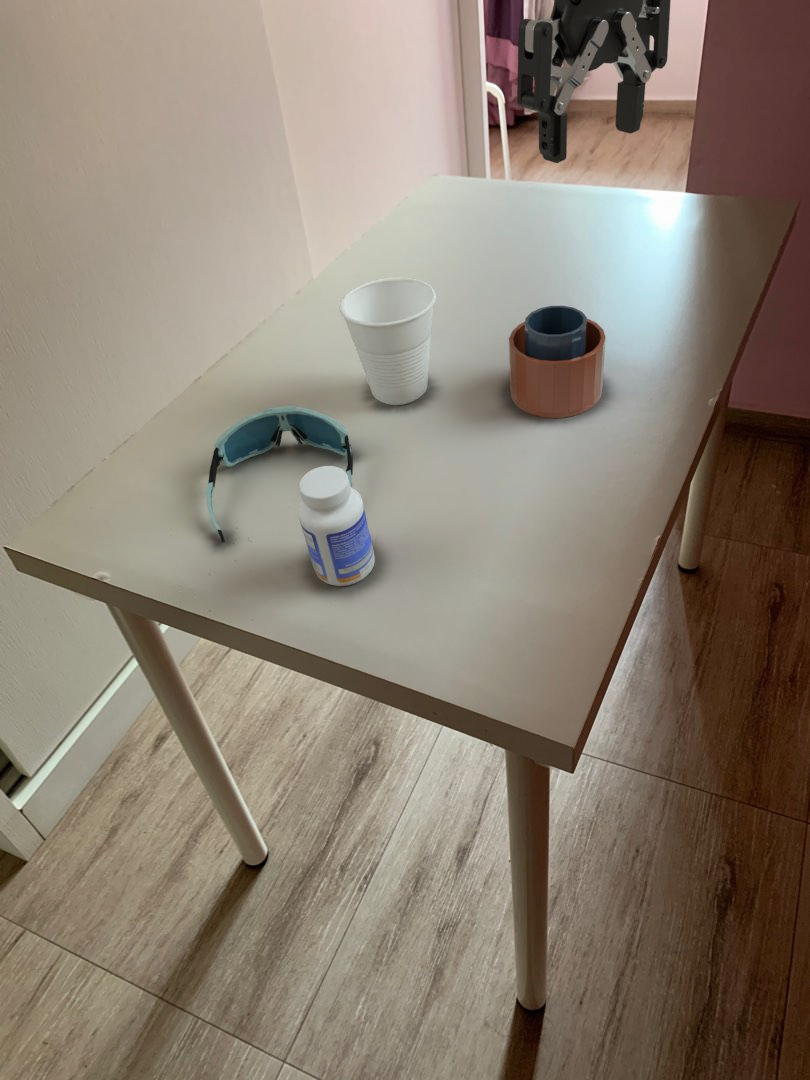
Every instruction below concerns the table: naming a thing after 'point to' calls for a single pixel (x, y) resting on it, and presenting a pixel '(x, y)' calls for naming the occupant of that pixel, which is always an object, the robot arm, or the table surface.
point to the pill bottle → (335, 527)
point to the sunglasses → (276, 440)
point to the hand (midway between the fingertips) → (591, 145)
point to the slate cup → (555, 333)
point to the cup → (392, 335)
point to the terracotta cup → (557, 377)
